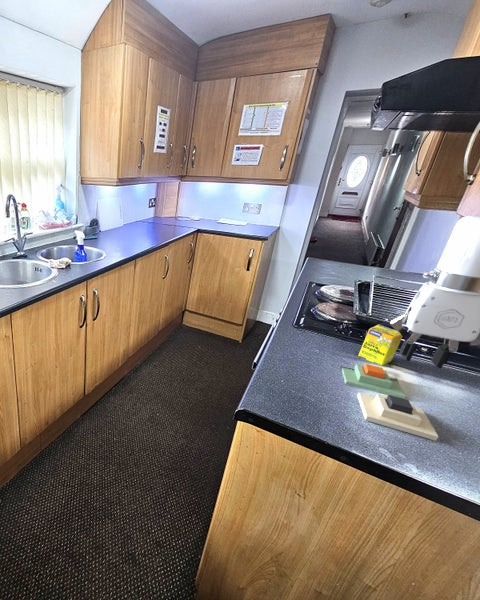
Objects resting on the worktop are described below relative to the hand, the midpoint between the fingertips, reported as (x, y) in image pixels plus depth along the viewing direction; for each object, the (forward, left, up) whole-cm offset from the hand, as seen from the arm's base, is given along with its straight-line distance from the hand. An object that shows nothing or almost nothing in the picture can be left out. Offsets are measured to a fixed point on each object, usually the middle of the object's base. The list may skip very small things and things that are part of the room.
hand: (420, 360), depth 70 cm
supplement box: (-1, -27, -15) cm, 31 cm away
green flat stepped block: (+2, -14, -15) cm, 21 cm away
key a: (0, 0, -13) cm, 13 cm away
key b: (+2, -14, -13) cm, 19 cm away
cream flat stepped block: (0, 0, -15) cm, 15 cm away
